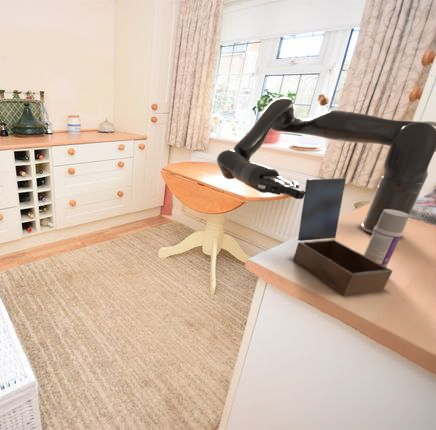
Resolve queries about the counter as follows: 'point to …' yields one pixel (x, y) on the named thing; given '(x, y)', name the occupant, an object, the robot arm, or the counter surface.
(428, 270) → the counter surface
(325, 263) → the case
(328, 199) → the cover
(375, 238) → the container
